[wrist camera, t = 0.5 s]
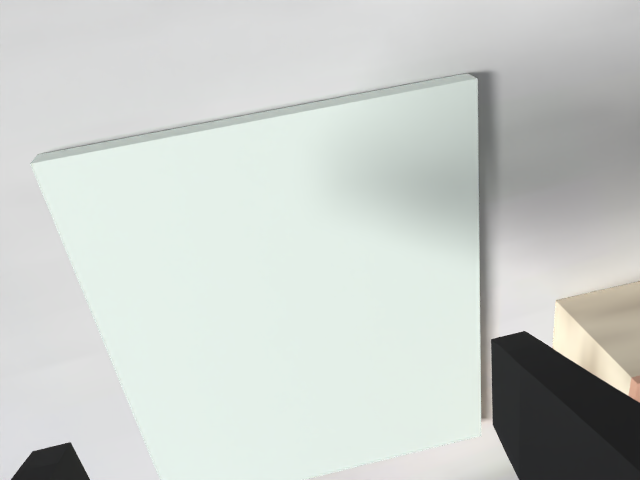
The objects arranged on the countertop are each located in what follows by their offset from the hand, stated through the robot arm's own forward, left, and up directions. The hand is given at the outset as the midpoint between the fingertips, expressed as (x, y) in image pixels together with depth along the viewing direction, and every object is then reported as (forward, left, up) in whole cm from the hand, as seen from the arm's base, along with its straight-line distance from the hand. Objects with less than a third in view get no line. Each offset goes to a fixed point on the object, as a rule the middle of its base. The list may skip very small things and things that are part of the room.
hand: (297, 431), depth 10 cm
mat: (-5, -1, -10) cm, 11 cm away
